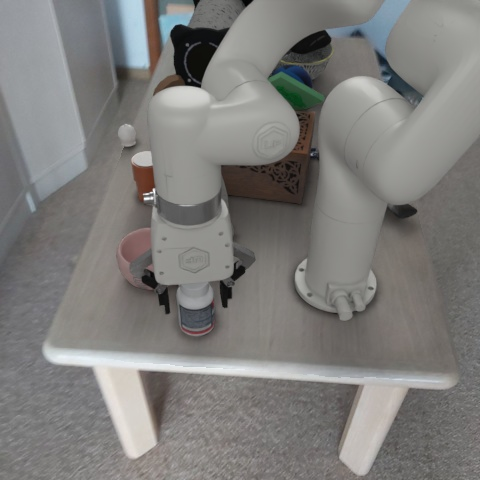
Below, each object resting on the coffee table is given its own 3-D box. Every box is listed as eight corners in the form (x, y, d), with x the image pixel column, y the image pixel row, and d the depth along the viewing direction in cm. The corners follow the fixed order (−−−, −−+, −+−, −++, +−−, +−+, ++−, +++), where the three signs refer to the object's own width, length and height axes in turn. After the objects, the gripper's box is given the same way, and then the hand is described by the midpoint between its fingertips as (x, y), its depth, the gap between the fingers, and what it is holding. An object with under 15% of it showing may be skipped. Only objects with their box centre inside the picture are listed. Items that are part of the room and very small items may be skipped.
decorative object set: (218, 141, 114) (218, 120, 111) (119, 147, 112) (116, 126, 108) (215, 131, 117) (215, 110, 114) (118, 137, 115) (115, 115, 112)
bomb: (276, 125, 117) (264, 120, 131) (324, 104, 116) (307, 101, 130) (259, 78, 113) (248, 78, 127) (308, 56, 112) (292, 58, 126)
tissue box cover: (309, 160, 110) (315, 112, 102) (301, 203, 100) (307, 154, 93) (182, 145, 113) (179, 97, 105) (162, 186, 103) (157, 137, 96)
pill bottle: (220, 331, 80) (219, 287, 74) (185, 341, 79) (181, 297, 72) (207, 306, 84) (206, 262, 77) (174, 315, 82) (169, 271, 76)
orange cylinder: (167, 203, 100) (163, 166, 95) (136, 205, 100) (131, 168, 94) (165, 185, 104) (161, 149, 98) (135, 188, 103) (130, 151, 97)
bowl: (321, 100, 126) (325, 67, 120) (253, 89, 129) (254, 56, 123) (335, 70, 136) (339, 38, 131) (272, 61, 139) (274, 29, 134)
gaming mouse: (271, 52, 125) (272, 33, 122) (316, 34, 132) (318, 16, 129) (291, 62, 122) (293, 43, 119) (336, 43, 129) (338, 24, 126)
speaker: (252, 49, 144) (254, -16, 133) (239, 102, 125) (240, 32, 114) (195, 45, 145) (192, -20, 134) (172, 97, 126) (167, 27, 115)
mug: (177, 301, 84) (174, 272, 80) (113, 294, 85) (106, 265, 80) (192, 249, 92) (190, 220, 88) (133, 243, 93) (128, 214, 88)
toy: (250, 135, 117) (210, 117, 111) (252, 121, 117) (213, 102, 112) (322, 106, 99) (279, 82, 93) (325, 89, 99) (282, 64, 94)
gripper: (113, 225, 62) (133, 330, 75) (268, 212, 64) (261, 317, 77) (113, 186, 66) (132, 291, 80) (257, 175, 68) (252, 279, 82)
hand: (195, 303), depth 78 cm, fingers open, 7 cm apart
